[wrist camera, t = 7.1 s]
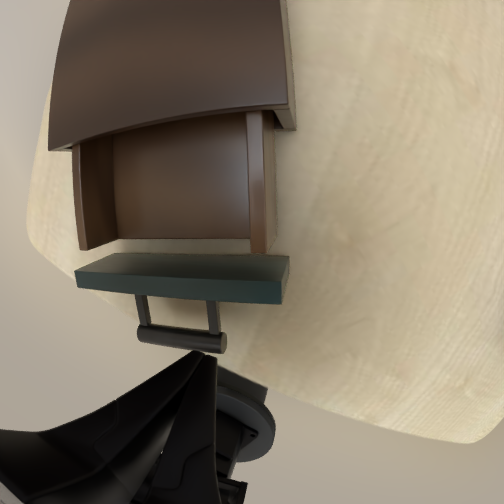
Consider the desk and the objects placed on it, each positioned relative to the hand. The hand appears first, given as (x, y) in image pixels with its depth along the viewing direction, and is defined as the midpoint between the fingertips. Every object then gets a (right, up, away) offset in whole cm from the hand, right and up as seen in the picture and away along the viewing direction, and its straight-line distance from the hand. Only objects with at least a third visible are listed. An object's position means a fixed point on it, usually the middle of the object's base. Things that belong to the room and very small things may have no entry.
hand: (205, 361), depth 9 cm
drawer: (-3, +6, +10) cm, 12 cm away
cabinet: (-3, +18, +8) cm, 20 cm away
